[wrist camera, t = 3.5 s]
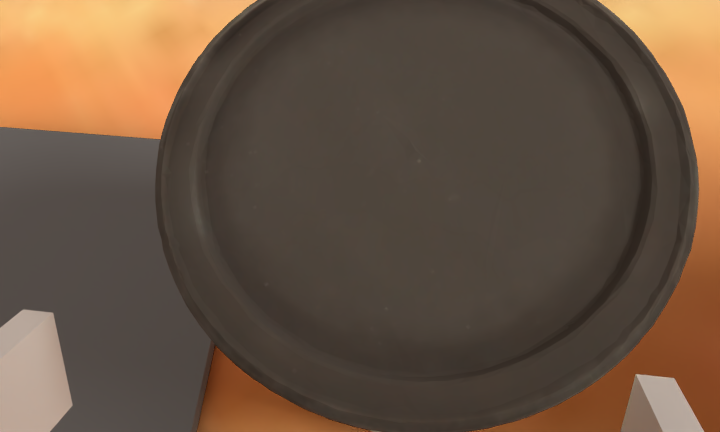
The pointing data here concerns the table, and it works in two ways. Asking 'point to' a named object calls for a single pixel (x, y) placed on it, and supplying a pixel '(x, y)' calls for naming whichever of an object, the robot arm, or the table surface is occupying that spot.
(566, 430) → the table surface
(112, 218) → the rubber mat
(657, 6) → the table surface
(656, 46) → the table surface
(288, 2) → the coffee can
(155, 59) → the table surface
